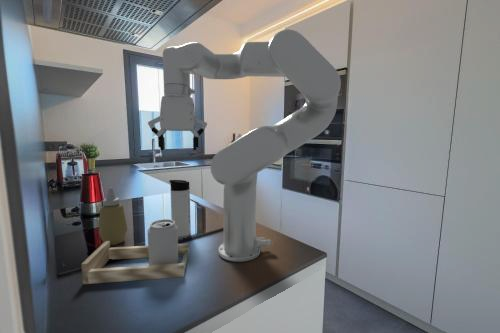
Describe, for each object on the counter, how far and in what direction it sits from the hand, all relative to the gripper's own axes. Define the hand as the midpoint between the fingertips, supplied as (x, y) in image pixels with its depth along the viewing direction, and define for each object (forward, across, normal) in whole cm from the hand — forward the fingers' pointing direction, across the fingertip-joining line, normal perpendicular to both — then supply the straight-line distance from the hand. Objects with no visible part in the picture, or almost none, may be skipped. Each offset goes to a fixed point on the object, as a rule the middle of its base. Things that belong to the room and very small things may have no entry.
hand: (179, 149), depth 75 cm
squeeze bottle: (+31, +22, -4) cm, 38 cm away
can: (+31, +3, +13) cm, 33 cm away
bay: (+30, +8, +13) cm, 34 cm away
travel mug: (+31, +1, -6) cm, 31 cm away
